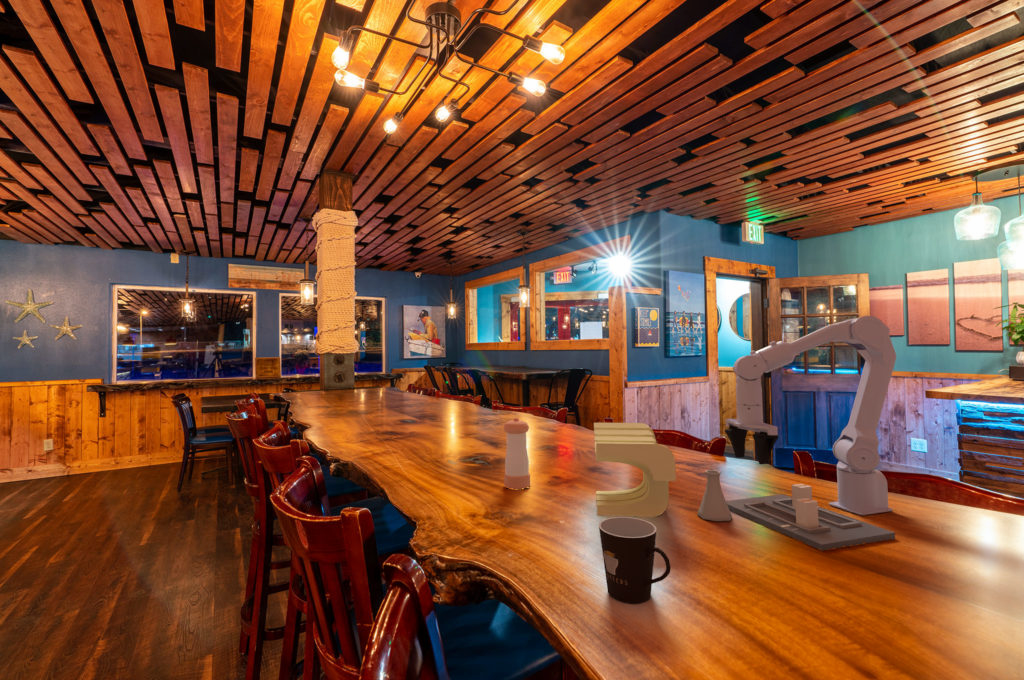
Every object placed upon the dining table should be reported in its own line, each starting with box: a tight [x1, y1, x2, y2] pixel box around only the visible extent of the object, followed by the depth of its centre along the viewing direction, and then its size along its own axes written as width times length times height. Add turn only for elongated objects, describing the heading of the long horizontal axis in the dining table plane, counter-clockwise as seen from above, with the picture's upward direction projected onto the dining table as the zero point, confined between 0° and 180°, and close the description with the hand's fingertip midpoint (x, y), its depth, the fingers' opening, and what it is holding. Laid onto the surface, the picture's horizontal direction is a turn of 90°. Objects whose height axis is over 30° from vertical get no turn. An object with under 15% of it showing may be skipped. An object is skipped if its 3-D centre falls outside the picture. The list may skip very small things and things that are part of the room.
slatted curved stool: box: [593, 422, 677, 518], centre depth 110 cm, size 30×16×18 cm, turn 171°
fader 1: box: [791, 483, 813, 508], centre depth 102 cm, size 3×2×5 cm
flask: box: [697, 469, 733, 522], centre depth 102 cm, size 7×7×10 cm
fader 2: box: [795, 498, 819, 529], centre depth 92 cm, size 3×2×5 cm
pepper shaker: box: [503, 417, 531, 489], centre depth 129 cm, size 7×7×19 cm
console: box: [726, 493, 896, 552], centre depth 99 cm, size 18×26×2 cm
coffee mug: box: [598, 516, 672, 605], centre depth 69 cm, size 12×9×10 cm
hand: (751, 460), depth 113 cm, fingers open, 7 cm apart
